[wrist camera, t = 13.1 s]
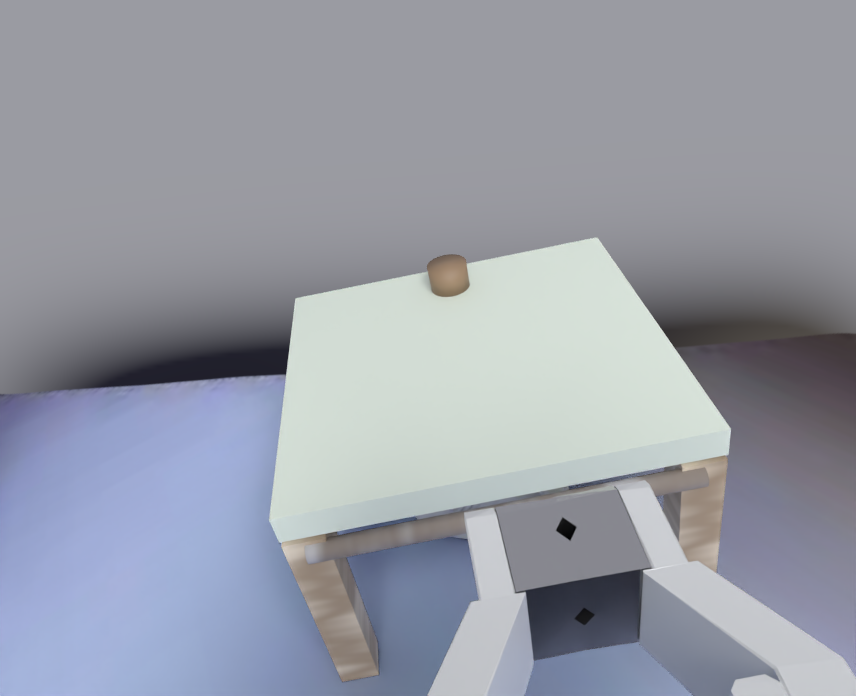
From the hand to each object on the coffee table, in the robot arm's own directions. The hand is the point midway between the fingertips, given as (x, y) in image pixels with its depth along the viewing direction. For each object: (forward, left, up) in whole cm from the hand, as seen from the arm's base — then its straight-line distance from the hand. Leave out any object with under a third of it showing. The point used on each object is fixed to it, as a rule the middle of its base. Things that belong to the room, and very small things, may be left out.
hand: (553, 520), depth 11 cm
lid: (0, +23, -14) cm, 27 cm away
